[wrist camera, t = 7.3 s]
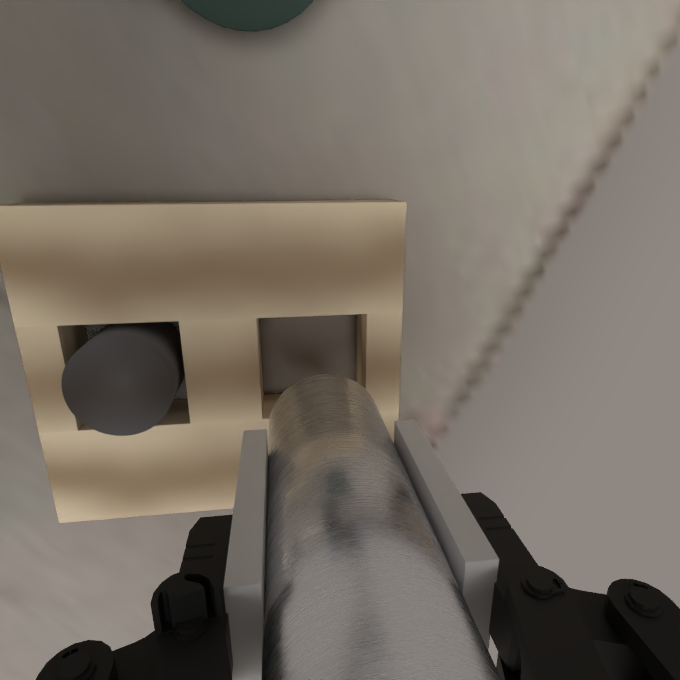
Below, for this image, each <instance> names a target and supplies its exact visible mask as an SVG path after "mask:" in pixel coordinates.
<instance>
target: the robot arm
mask: <svg viewBox="0 0 680 680" xmlns="http://www.w3.org/2000/svg"><path fill="white" fill-rule="evenodd" d="M394 445H395V447H396V450H397V452H398V454H399V456H400V458H401V461H402V463H403V465H404V467H405V469H406V472H407V474H408V476H409V478H410V480H411V483H412V485H413V487H414V489H415V491H416V494H417V496H418V498H419V500H420V502H421V505H422V507H423V509H424V511H425V513H426V516H427V518H428V520H429V522H430V524H431V527H432V529H433V531H434V533H435V535H436V538H437V540H438V542H439V544H440V546H441V549H442V551H443V553H444V555H445V557H446V559H447V562H448V564H449V566H450V568H451V570H452V573H453V575H454V577H455V579H456V581H457V584H458V586H459V588H460V590H461V592H462V595H463V597H464V599H465V601H466V603H467V606H468V608H469V610H470V612H471V614H472V617H473V619H474V621H475V623H476V625H477V628H478V630H479V632H480V634H481V636H482V639H483V641H484V643H485V645H486V647H487V650H488V648H489V639H490V635H491V637H492V639H493V641H494V643H495V645H496V648H497V650H498V659H497V667H496V669H497V672H498V674H499V676H500V678H501V680H680V609H679V608H678V607H677V606H676V604H675V603H674V602H673V601H672V600H671V599H670V598H668V597H667V596H666V595H665V594H663V593H662V592H661V591H660V590H658V589H656V588H654V587H652V586H650V585H649V584H647V583H644V582H641V581H637V580H633V579H619V580H617V581H614V582H612V583H611V585H610V586H609V588H608V591H607V595H605V594H599V593H593V592H587V591H581V590H576V589H572V588H569V587H568V586H567V585H566V583H565V582H564V580H563V579H562V578H560V577H559V576H558V575H557V574H555V573H554V572H552V571H550V570H548V569H546V568H544V567H541V566H538V564H537V563H536V562H535V560H534V559H533V557H532V556H531V555H530V553H529V551H528V550H527V548H526V547H525V546H524V544H523V543H522V542H521V540H520V539H519V537H518V535H517V534H516V533H515V531H514V530H513V529H511V525H510V524H509V523H508V521H507V519H506V518H504V516H503V514H502V512H501V511H500V509H499V508H498V506H497V505H496V504H495V503H494V502H493V501H492V500H490V499H489V498H488V497H486V496H485V495H484V494H482V493H481V492H479V493H467V494H460V492H459V491H458V489H457V487H456V486H455V484H454V482H453V481H452V479H451V477H450V476H449V474H448V472H447V471H446V469H445V467H444V466H443V464H442V462H441V461H440V459H439V457H438V456H437V454H436V452H435V451H434V449H433V447H432V445H431V444H430V442H429V440H428V439H427V437H426V435H425V434H424V432H423V430H422V429H421V427H420V425H419V424H418V422H417V420H416V419H414V420H399V421H395V422H394ZM267 487H268V443H267V429H261V430H246V431H244V432H243V440H242V447H241V455H240V463H239V470H238V478H237V486H236V494H235V501H234V509H233V515H224V516H213V517H201V518H200V519H199V520H198V521H197V523H196V524H195V525H194V526H193V528H192V529H191V530H190V531H189V535H188V539H187V543H186V549H185V552H184V556H183V561H182V564H181V568H180V572H179V573H177V574H174V575H172V576H170V577H169V578H167V579H166V580H165V581H163V582H162V583H161V584H160V585H159V586H158V588H157V589H156V590H155V592H154V593H153V597H152V600H151V609H152V615H153V621H154V628H155V631H153V632H152V633H151V634H149V635H148V636H146V637H145V638H143V639H141V640H139V641H137V642H135V643H132V644H130V645H127V646H125V647H122V648H119V649H117V650H114V651H112V650H111V648H110V646H108V645H107V644H105V643H103V642H102V641H94V640H87V641H83V642H79V643H75V644H73V645H71V646H69V647H67V648H65V649H63V650H62V651H60V652H59V653H57V654H56V655H55V656H54V657H53V658H52V659H51V660H49V661H48V662H47V663H46V665H45V666H44V668H43V669H42V670H41V672H40V673H39V675H38V676H37V678H36V680H232V678H233V680H262V645H263V624H264V599H265V562H266V524H267Z"/></svg>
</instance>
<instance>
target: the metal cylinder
mask: <svg viewBox="0 0 680 680" xmlns="http://www.w3.org/2000/svg"><path fill="white" fill-rule="evenodd" d="M262 680H501V678H500V676H499V674H498V672H497V669H496V667H495V665H494V663H493V661H492V659H491V656H490V654H489V652H488V650H487V647H486V645H485V643H484V641H483V639H482V636H481V634H480V632H479V630H478V628H477V625H476V623H475V621H474V619H473V617H472V614H471V612H470V610H469V608H468V606H467V603H466V601H465V599H464V597H463V595H462V592H461V590H460V588H459V586H458V584H457V581H456V579H455V577H454V575H453V573H452V570H451V568H450V566H449V564H448V562H447V559H446V557H445V555H444V553H443V551H442V549H441V546H440V544H439V542H438V540H437V538H436V535H435V533H434V531H433V529H432V527H431V524H430V522H429V520H428V518H427V516H426V513H425V511H424V509H423V507H422V505H421V502H420V500H419V498H418V496H417V494H416V491H415V489H414V487H413V485H412V483H411V480H410V478H409V476H408V474H407V472H406V469H405V467H404V465H403V463H402V461H401V458H400V456H399V454H398V452H397V450H396V447H395V445H394V443H393V441H392V439H391V436H390V434H389V432H388V430H387V428H386V426H385V423H384V421H383V419H382V417H381V415H380V412H379V410H378V408H377V406H376V404H375V402H374V400H373V398H372V396H371V395H370V394H369V392H368V391H367V390H366V389H365V388H364V387H363V386H361V385H360V384H359V383H357V382H355V381H353V380H351V379H349V378H347V377H343V376H340V375H333V374H321V375H315V376H310V377H307V378H305V379H302V380H300V381H298V382H296V383H294V384H293V385H291V386H290V387H289V388H288V389H286V390H285V391H284V392H283V393H282V394H281V396H280V397H279V398H278V400H277V401H276V403H275V404H274V407H273V409H272V411H271V414H270V419H269V436H268V487H267V524H266V562H265V599H264V624H263V645H262Z"/></svg>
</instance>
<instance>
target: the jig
mask: <svg viewBox="0 0 680 680" xmlns="http://www.w3.org/2000/svg"><path fill="white" fill-rule="evenodd" d="M406 209H407V202H404V201H398V200H289V201H180V202H72V203H17V204H5V205H0V265H1V269H2V274H3V278H4V283H5V287H6V291H7V296H8V300H9V304H10V309H11V313H12V318H13V322H14V326H15V331H16V335H17V340H18V344H19V348H20V353H21V357H22V361H23V366H24V370H25V375H26V379H27V383H28V388H29V392H30V396H31V401H32V405H33V410H34V414H35V418H36V423H37V427H38V432H39V436H40V440H41V445H42V449H43V453H44V458H45V462H46V467H47V471H48V475H49V480H50V484H51V488H52V493H53V497H54V502H55V506H56V510H57V515H58V519H59V523H65V522H76V521H88V520H100V519H112V518H124V517H136V516H148V515H159V514H171V513H183V512H195V511H207V510H219V509H230V508H234V501H235V494H236V486H237V478H238V470H239V463H240V455H241V447H242V440H243V432H244V431H246V430H261V429H267V443H268V436H269V419H270V414H271V411H272V409H273V407H274V404H275V403H276V401H277V400H278V398H279V397H280V396H281V394H265V395H264V393H263V376H262V359H261V342H260V325H259V318H275V317H301V316H327V315H353V314H357V383H359V384H360V385H361V386H363V387H364V388H365V389H366V390H367V391H368V392H369V394H370V395H371V396H372V398H373V400H374V402H375V404H376V406H377V408H378V410H379V412H380V415H381V417H382V419H383V421H384V423H385V426H386V428H387V430H388V432H389V434H390V436H391V439H392V441H393V443H394V422H395V421H398V417H399V391H400V365H401V339H402V313H403V287H404V261H405V235H406ZM170 321H179V328H180V332H179V331H178V330H177V328H175V327H174V326H173V325H172V324H171V323H169V322H170ZM91 324H108V325H107V326H105V327H104V328H103V329H102V330H101V331H100V332H98V333H97V334H96V335H95V336H94V337H93V338H91V339H90V340H89V341H87V335H86V330H85V325H91ZM184 376H185V380H186V389H187V398H188V399H178V400H173V399H174V397H175V395H176V393H177V391H178V389H179V386H180V384H181V382H182V380H183V378H184Z"/></svg>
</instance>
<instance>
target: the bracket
mask: <svg viewBox="0 0 680 680" xmlns="http://www.w3.org/2000/svg"><path fill="white" fill-rule="evenodd" d="M182 1H183V2H184V3H185V4H186V5H187V6H188V7H190V8H191V9H192V10H193V11H195V12H196V13H198V14H199V15H201V16H202V17H204V18H205V19H207V20H209V21H211V22H213V23H215V24H218V25H220V26H222V27H226V28H230V29H234V30H239V31H260V30H266V29H272V28H274V27H277V26H279V25H282V24H284V23H287V22H288V21H290V20H291V19H293V18H294V17H296V16H297V15H299V14H300V13H301V12H302V11H303V10H304V9H305V8H306V7H307V6H308V5H309V4H311V3H312V1H313V0H182Z"/></svg>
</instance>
